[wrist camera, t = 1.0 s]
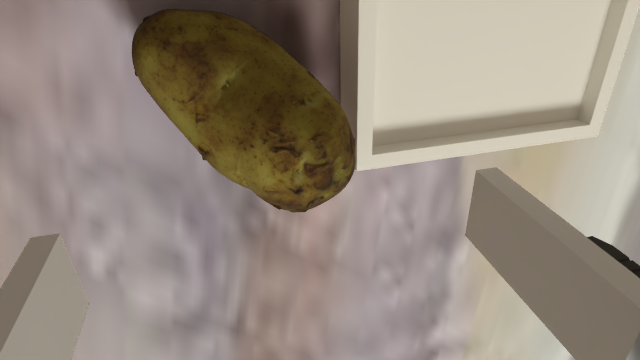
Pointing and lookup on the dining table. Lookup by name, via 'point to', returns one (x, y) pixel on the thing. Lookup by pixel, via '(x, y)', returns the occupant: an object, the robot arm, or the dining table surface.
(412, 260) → the dining table surface
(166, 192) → the dining table surface
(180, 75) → the potato
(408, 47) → the rectangular tray
